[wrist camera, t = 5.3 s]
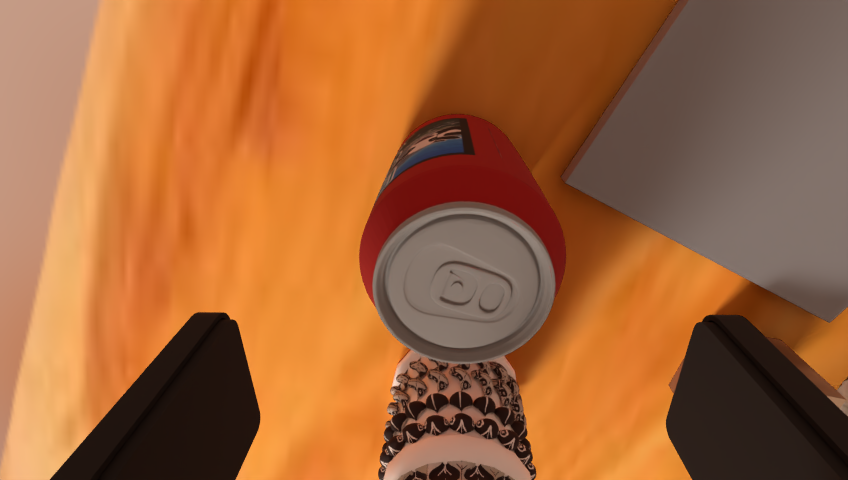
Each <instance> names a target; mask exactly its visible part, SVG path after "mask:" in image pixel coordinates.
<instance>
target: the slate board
mask: <svg viewBox="0 0 848 480" xmlns="http://www.w3.org/2000/svg"><path fill="white" fill-rule="evenodd" d="M561 178H562V180H563V181H564V182H565V183H566V184H568V185H570V186H572V187H574V188H576V189H578V190H580V191H581V192H583V193H585V194H587V195H589V196H591V197H593V198H595V199H597V200H598V201H600V202H602V203H604V204H606V205H608V206H610V207H612V208H614V209H615V210H617V211H619V212H621V213H623V214H625V215H627V216H629V217H631V218H632V219H634V220H636V221H638V222H640V223H642V224H644V225H646V226H647V227H649V228H651V229H653V230H655V231H657V232H659V233H661V234H663V235H664V236H666V237H668V238H670V239H672V240H674V241H676V242H678V243H680V244H681V245H683V246H685V247H687V248H689V249H691V250H693V251H695V252H697V253H698V254H700V255H702V256H704V257H706V258H708V259H710V260H712V261H714V262H715V263H717V264H719V265H721V266H723V267H725V268H727V269H729V270H731V271H732V272H734V273H736V274H738V275H740V276H742V277H744V278H746V279H748V280H749V281H751V282H753V283H755V284H757V285H759V286H761V287H763V288H765V289H766V290H768V291H770V292H772V293H774V294H776V295H778V296H780V297H782V298H783V299H785V300H787V301H789V302H791V303H793V304H795V305H797V306H799V307H800V308H802V309H804V310H806V311H808V312H810V313H812V314H814V315H815V316H817V317H819V318H821V319H823V320H825V321H827V322H829V323H830V322H831V321H832V320H833V319H835V318H836V317H837V316H838V315H839V314H840V313H841V312H842V311H843V310H845V309H846V308H847V307H848V0H679V1H678V2H677V4H676V5H675V7H674V8H673V10H672V11H671V13H670V14H669V16H668V17H667V19H666V20H665V22H664V23H663V25H662V26H661V28H660V29H659V31H658V32H657V34H656V35H655V37H654V38H653V40H652V41H651V43H650V44H649V46H648V47H647V49H646V50H645V52H644V53H643V55H642V56H641V58H640V59H639V61H638V62H637V64H636V65H635V67H634V68H633V70H632V71H631V73H630V74H629V76H628V77H627V79H626V80H625V82H624V83H623V85H622V86H621V88H620V89H619V91H618V92H617V94H616V95H615V97H614V98H613V100H612V101H611V103H610V104H609V106H608V107H607V109H606V110H605V112H604V113H603V115H602V116H601V118H600V119H599V121H598V122H597V124H596V125H595V127H594V128H593V130H592V131H591V133H590V134H589V136H588V137H587V139H586V140H585V142H584V143H583V145H582V146H581V148H580V149H579V151H578V152H577V154H576V155H575V157H574V158H573V160H572V161H571V163H570V164H569V166H568V167H567V169H566V170H565V172H564V173H563V175H562V176H561Z"/></svg>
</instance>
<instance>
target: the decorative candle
mask: <svg viewBox="0 0 848 480" xmlns="http://www.w3.org/2000/svg"><path fill="white" fill-rule="evenodd" d="M390 392H391V394H392V395H393V399H394V400H395V401H396V402H391V403H389V406H388V408H387V411H388V413H389V414H391V415H393V417H392V419H391V421H387V422H386V425H385V426H386V430H385V432H384V439H385V441H386V443H385V444H384V445H383V448H382V453H381V455H380V463H381V465H382V466H381V467H380V469H379V472H378V476H379V479H380V480H534V479H535V477H536V469H535V467H534V465H533V464H532V463H531V461H532V459H533V456H532V453H531V445H530V443H529V441H528V440H527V439H526V438H525V437H526V436H527V429H526V425H527V424H526V418H525V415H524V413H523V405H522V399H521V396H520V394H519V386H518V384H517V382H516V375H515V370H514V369H513V368H512V366H511V365H510V363H509V362H508V360H507V359H506V358H505V356H502V357H500V358H497V359H494V360H490V361H486V362H481V363H473V364H454V363H446V362H440V361H437V360H433V359H430V358H427V357H425V356H422V355H420V354H418V353H416V352H414V351H412V350H410V351H409V352H408V353H407V354H406V356H405V357H404V358H403V359H402V360H401V361H400V363H399V364H398V365H397V368H396V372H395V376H394V380H393V385H392V387H391V390H390Z"/></svg>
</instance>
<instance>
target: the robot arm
mask: <svg viewBox="0 0 848 480" xmlns="http://www.w3.org/2000/svg"><path fill="white" fill-rule="evenodd" d="M259 424H260V411H259V407H258V403H257V399H256V395H255V391H254V387H253V383H252V379H251V375H250V371H249V367H248V363H247V359H246V355H245V351H244V347H243V343H242V339H241V335H240V331H239V327H238V324H237V322H236V321H235V320H230V318H229V316H228V315H227V314H226V313H208V312H199V313H195V314H194V315H193V316H191V318H190V319H189V320H188V321H187V322H186V323H185V325H184V326H183V327H182V328H181V329H180V330H179V331H178V333H177V334H176V335H175V336H174V337H173V338H172V340H171V341H170V342H169V343H168V344H167V345H166V346H165V348H164V349H163V350H162V351H161V352H160V353H159V355H158V356H157V357H156V358H155V359H154V360H153V361H152V363H151V364H150V365H149V366H148V367H147V368H146V369H145V371H144V372H143V373H142V374H141V375H140V376H139V378H138V379H137V380H136V381H135V382H134V383H133V384H132V386H131V387H130V388H129V389H128V390H127V391H126V393H125V394H124V395H123V396H122V397H121V398H120V399H119V401H118V402H117V403H116V404H115V405H114V406H113V408H112V409H111V410H110V411H109V412H108V413H107V414H106V416H105V417H104V418H103V419H102V420H101V421H100V422H99V424H98V425H97V426H96V427H95V428H94V429H93V431H92V432H91V433H90V434H89V435H88V436H87V437H86V439H85V440H84V441H83V442H82V443H81V444H80V446H79V447H78V448H77V449H76V450H75V451H74V452H73V454H72V455H71V456H70V457H69V458H68V459H67V461H66V462H65V463H64V464H63V465H62V466H61V467H60V469H59V470H58V471H57V472H56V473H55V474H54V475H53V477H52V478H51V479H50V480H235V479H236V477H237V475H238V473H239V471H240V468H241V466H242V464H243V462H244V460H245V458H246V455H247V453H248V451H249V449H250V447H251V444H252V442H253V440H254V438H255V436H256V434H257V431H258V428H259ZM666 428H667V433H668V436H669V438H670V440H671V442H672V444H673V445H674V447H675V449H676V451H677V453H678V454H679V456H680V458H681V460H682V462H683V464H684V465H685V467H686V469H687V471H688V473H689V474H690V476H691V478H692V480H848V416H847V415H846V414H845V413H844V412H843V411H842V410H841V409H840V408H839V407H837V406H836V405H835V404H834V403H833V402H832V401H831V400H830V399H829V398H828V397H827V396H826V395H825V394H824V393H823V392H822V391H821V390H820V389H819V388H818V387H817V386H816V385H815V384H814V383H813V382H812V381H810V380H809V379H808V378H807V377H806V376H805V375H804V374H803V373H802V372H801V371H800V370H799V369H798V368H797V367H796V366H795V365H794V364H793V363H792V362H791V361H790V360H789V359H788V358H787V357H786V356H784V355H783V354H782V353H781V352H780V351H779V350H778V349H777V348H776V347H775V346H774V345H773V344H772V343H771V342H770V341H769V340H768V339H767V338H766V337H765V336H764V335H763V334H762V333H761V332H760V331H759V330H757V329H756V328H755V327H754V326H753V325H752V324H751V323H750V322H749V321H748V320H747V319H746V318H744V317H743V316H740V315H708V316H706V317H705V318H704V319H703V321H702V322H699V323H697V324H696V325H695V327H694V329H693V332H692V335H691V339H690V342H689V345H688V349H687V352H686V355H685V359H684V362H683V365H682V369H681V372H680V375H679V379H678V382H677V385H676V388H675V392H674V395H673V398H672V402H671V405H670V408H669V412H668V415H667V419H666Z"/></svg>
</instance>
